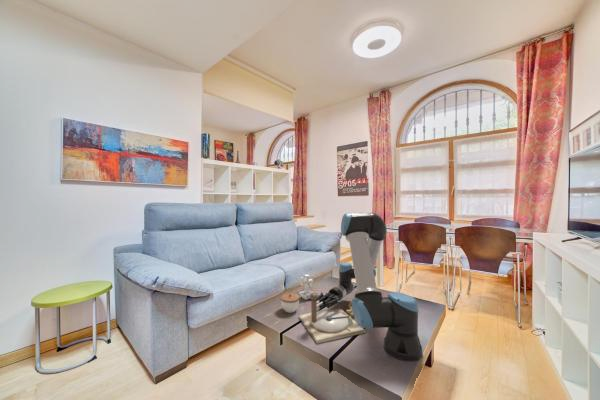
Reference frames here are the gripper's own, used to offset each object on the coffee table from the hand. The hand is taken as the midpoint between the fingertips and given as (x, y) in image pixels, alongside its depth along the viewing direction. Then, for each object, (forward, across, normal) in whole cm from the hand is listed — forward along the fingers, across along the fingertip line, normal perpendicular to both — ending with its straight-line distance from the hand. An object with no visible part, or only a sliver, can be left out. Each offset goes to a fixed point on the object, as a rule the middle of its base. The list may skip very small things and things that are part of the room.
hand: (313, 308), depth 123 cm
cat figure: (-30, -16, -9) cm, 35 cm away
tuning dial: (-5, -7, -7) cm, 11 cm away
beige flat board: (-5, -6, -8) cm, 12 cm away
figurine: (-23, +22, -9) cm, 33 cm away
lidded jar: (-4, +20, -9) cm, 22 cm away
